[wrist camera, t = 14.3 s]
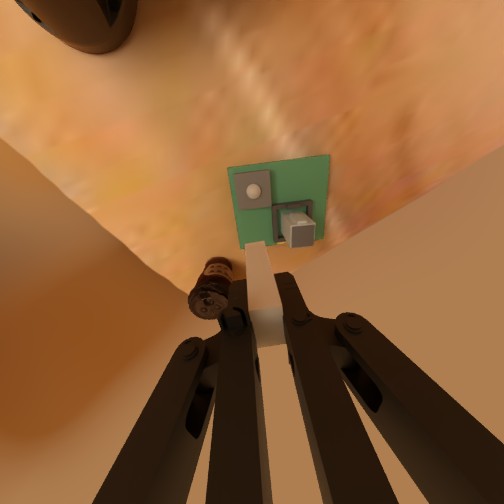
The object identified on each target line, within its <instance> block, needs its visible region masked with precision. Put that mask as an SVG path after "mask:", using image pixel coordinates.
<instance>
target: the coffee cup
mask: <svg viewBox="0 0 504 504" xmlns="http://www.w3.org/2000/svg"><path fill="white" fill-rule="evenodd" d="M232 281H233V274H232V265H231V263H230V262H229V261H228V260H227V259H225V258H222V257H214V258H211V259H209V260H207V262H206V264H205V269H204V271H203V273H202V274H201V275H200V277H199V278H198V281H197V283H196V285H195V287H194V288H193V289H192V290H191V292H190V294H189V296H188V304H189V309H190V310H191V312H193V314H194V315H196V316H197V317H199V318H202V319H208V320H210V319H217V318H218V315H219V313H220V312H221V311H222V310H223V309H224V308H226V307H227V305H228V295H229V294H228V292H229V286H230V285H231V283H232Z"/></svg>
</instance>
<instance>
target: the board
mask: <svg viewBox="0 0 504 504" xmlns="http://www.w3.org/2000/svg"><path fill="white" fill-rule="evenodd" d="M329 162H330V155H321V156H313V157H305V158H298V159H290V160H282V161H275V162H267V163H259V164H252V165H244V166H236V167H229V168H227V169H228V175H229V181H230V187H231V193H232V199H233V206H234V212H235V218H236V224H237V230H238V236H239V242H240V249H245V244H247V243H253V242H259V241H264V242H265V245H266V246H270V245H278V244H286V243H287V241H286V240H285V238H284V236H283V234H282V232H281V212H289V211H298V210H301V211H302V212H303V213H305V214H306V215H307V216H308V217H309V218H310V219H311V220H313V221H314V222H315V223H316V226H315V238H314V240H317V239H323V238H324V225H325V212H326V200H327V187H328V174H329Z"/></svg>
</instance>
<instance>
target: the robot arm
mask: <svg viewBox="0 0 504 504" xmlns="http://www.w3.org/2000/svg"><path fill="white" fill-rule="evenodd" d="M15 1H16V3H17V4H18V5H19V6H20V7H21V8H22V9H23V10H24V11H25V12H26V13H27V14H28V15H29V16H30V17H31V18H32V19H33V20H34V21H35V22H36V23H37V24H39V25H40V26H41V27H42V28H44V29H45V30H46V31H48V32H49V33H50V34H52V35H54V36H55V37H57V38H58V39H60V40H61V41H63V42H64V43H66V44H67V45H69V46H71V47H73V48H75V49H78V50H80V51H83V52H87V53H94V54H99V53H106V52H109V51H111V50H114V49H115V48H117V47H118V46H119V45H121V44H122V43H123V41H124V40H125V39H126V38H127V36H128V34H129V32H130V30H131V28H132V25H133V23H134V19H135V14H136V7H137V0H15ZM245 257H246V275H247V279H243V280H237V281H232V283H231V285H230V286H229V292H228V294H229V295H228V305H227V307H226V308H224V309H223V310H222V311H221V312H220V313H219V315H218V318H217V319H218V322H219V325H220V327H221V331H220V332H219V333H217V334H216V335H214V336H212V337H210V338H208V339H206V340H204V341H203V340H202V339H201V338H199V337H191V338H189V339H186V340H185V341H183V342H182V343H181V344H180V345H179V346H178V348H177V349H176V350H175V352H174V354H173V356H172V358H171V360H170V362H169V363H168V365H167V367H166V369H165V371H164V372H163V374H162V376H161V378H160V380H159V382H158V384H157V385H156V387H155V389H154V391H153V393H152V395H151V396H150V398H149V400H148V402H147V404H146V406H145V407H144V409H143V411H142V413H141V415H140V417H139V418H138V420H137V422H136V424H135V426H134V427H133V429H132V431H131V433H130V435H129V437H128V439H127V440H126V442H125V444H124V446H123V448H122V449H121V451H120V453H119V455H118V457H117V459H116V461H115V462H114V464H113V466H112V468H111V470H110V471H109V473H108V475H107V477H106V479H105V481H104V482H103V484H102V486H101V488H100V490H99V492H98V493H97V495H96V497H95V499H94V501H93V503H92V504H186V501H187V498H188V494H189V491H190V487H191V483H192V480H193V477H194V473H195V470H196V466H197V462H198V459H199V456H200V452H201V449H202V445H203V441H204V438H205V435H206V431H207V428H208V424H209V421H210V417H211V414H212V410H213V407H214V403H215V408H214V419H213V429H212V440H211V450H210V461H209V471H208V482H207V492H206V502H205V504H273V501H272V491H271V480H270V471H269V460H268V450H267V439H266V428H265V418H264V407H263V397H262V387H261V376H260V366H259V358H258V354H257V348H260V347H267V346H273V345H280V344H287V348H288V357H289V364H290V365H291V369H292V373H293V377H294V382H295V386H296V390H297V394H298V399H299V403H300V407H301V411H302V415H303V420H304V423H305V428H306V432H307V437H308V441H309V445H310V449H311V453H312V458H313V462H314V466H315V470H316V474H317V479H318V483H319V488H320V491H321V496H322V500H323V504H399V503H398V501H397V498H396V496H395V494H394V492H393V490H392V488H391V485H390V483H389V481H388V478H387V476H386V474H385V472H384V470H383V467H382V465H381V463H380V461H379V459H378V456H377V454H376V452H375V450H374V447H373V445H372V443H371V441H370V439H369V436H368V434H367V432H366V430H365V428H364V425H363V423H362V421H361V419H360V416H359V414H358V412H357V410H356V407H355V405H354V403H353V401H352V399H351V396H350V394H349V392H348V390H347V388H346V385H345V383H346V384H347V386H348V387H349V389H350V390H351V391H352V393H353V394H354V396H355V397H356V399H357V400H358V402H359V403H360V405H361V406H362V407H363V409H364V410H365V412H366V413H367V414H368V416H369V417H370V419H371V420H372V422H373V423H374V425H375V426H376V428H377V429H378V430H379V432H380V433H381V434H382V436H383V438H384V439H385V441H386V442H387V443H388V445H389V446H390V448H391V449H392V451H393V452H394V453H395V455H396V456H397V458H398V459H399V461H400V462H401V464H402V465H403V466H404V468H405V469H406V470H407V472H408V474H409V475H410V476H411V478H412V479H413V481H414V482H415V484H416V485H417V486H418V488H419V489H420V491H421V492H422V494H423V495H424V497H425V498H426V500H427V501H428V502H429V504H504V444H503V443H502V442H501V441H500V440H498V439H497V438H496V437H495V436H494V435H493V434H492V433H491V432H490V431H489V430H487V429H486V428H485V427H484V426H483V425H482V424H481V423H480V422H479V421H478V420H476V419H475V418H474V417H473V416H472V415H471V414H470V413H469V412H468V411H466V410H465V409H464V408H463V407H462V406H461V405H460V404H459V403H458V402H457V401H456V400H454V399H453V398H452V397H451V396H450V395H449V394H448V393H447V392H445V390H443V389H442V388H441V387H440V386H439V385H438V384H437V383H436V382H435V381H433V380H432V379H431V378H430V377H429V376H428V375H427V374H426V373H424V371H422V370H421V369H420V368H419V367H418V366H417V365H416V364H415V363H413V362H412V361H411V360H410V359H409V358H408V357H407V356H406V355H405V354H404V353H403V352H402V351H400V350H399V349H398V348H397V347H396V346H395V345H394V344H393V343H391V342H390V341H389V340H388V339H387V338H386V337H385V336H384V335H383V334H382V333H381V332H379V331H378V330H377V329H376V328H375V327H374V326H373V325H372V324H371V323H369V322H368V321H367V320H366V319H365V318H363V317H362V316H360V315H357V314H355V313H348V312H346V313H341V314H340V315H338V316H337V318H336V319H329V318H323V317H319V316H316V315H314V314H313V313H312V312H310V311H309V310H308V308H307V307H306V304H305V302H304V299H303V297H302V295H301V293H300V290H299V288H298V286H297V283H296V281H295V279H294V276H293V275H291V274H290V273H289V272H283V273H277V274H273V271H272V267H271V263H270V260H269V256H268V253H267V249H266V245H265V242H264V241H259V242H253V243H247V244H245ZM343 380H344V381H345V383H344V381H343Z"/></svg>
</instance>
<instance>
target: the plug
mask: <svg viewBox="0 0 504 504" xmlns="http://www.w3.org/2000/svg"><path fill="white" fill-rule="evenodd" d="M315 226H316V223H315V222H314V221H313V220H311V219H310V218H309V217H308V216H307V215H306V214H305V213H303V212H302V211H301V210H298V211H289V212H281V232H282V234H283V236H284V238H285V240H286V241H287V243H288V245H289V247H290V248H298V247H308V246H314V238H315Z"/></svg>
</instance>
